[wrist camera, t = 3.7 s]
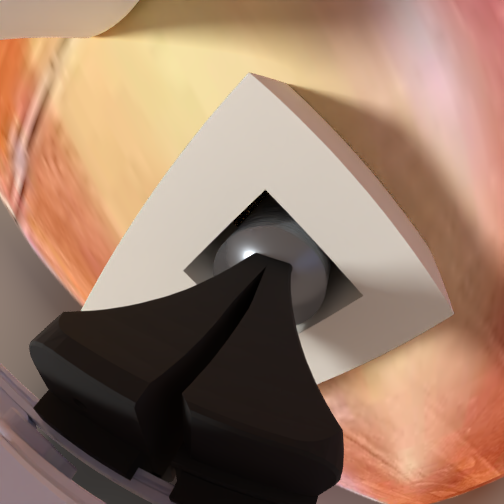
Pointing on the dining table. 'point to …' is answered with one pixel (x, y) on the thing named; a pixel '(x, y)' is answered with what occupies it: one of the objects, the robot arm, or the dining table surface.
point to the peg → (280, 254)
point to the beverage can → (60, 17)
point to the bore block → (301, 210)
